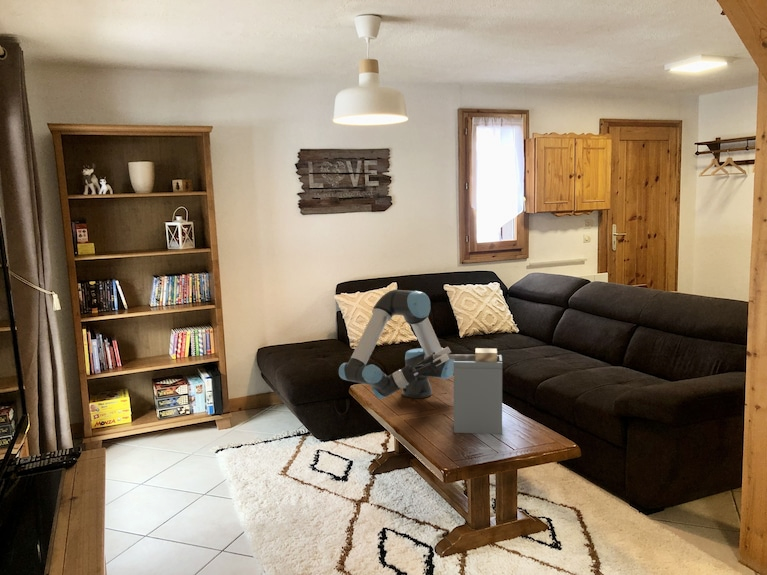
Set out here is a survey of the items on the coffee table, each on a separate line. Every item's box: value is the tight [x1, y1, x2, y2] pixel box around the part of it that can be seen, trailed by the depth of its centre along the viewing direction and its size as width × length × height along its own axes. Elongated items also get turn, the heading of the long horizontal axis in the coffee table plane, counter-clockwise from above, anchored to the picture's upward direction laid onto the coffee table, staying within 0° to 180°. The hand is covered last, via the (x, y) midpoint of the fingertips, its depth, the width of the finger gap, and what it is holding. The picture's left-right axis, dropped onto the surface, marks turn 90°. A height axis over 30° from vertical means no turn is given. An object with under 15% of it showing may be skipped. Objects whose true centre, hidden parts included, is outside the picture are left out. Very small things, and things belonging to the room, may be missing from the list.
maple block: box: [433, 347, 498, 362], centre depth 263 cm, size 27×8×6 cm, turn 81°
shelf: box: [453, 354, 503, 435], centre depth 264 cm, size 20×14×31 cm
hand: (448, 352), depth 264 cm, fingers open, 12 cm apart
